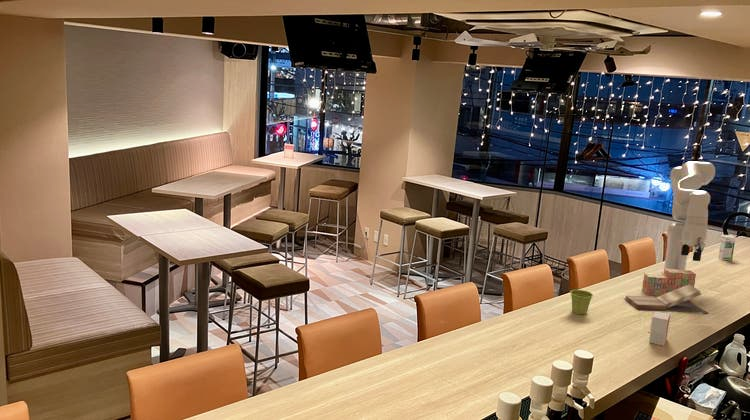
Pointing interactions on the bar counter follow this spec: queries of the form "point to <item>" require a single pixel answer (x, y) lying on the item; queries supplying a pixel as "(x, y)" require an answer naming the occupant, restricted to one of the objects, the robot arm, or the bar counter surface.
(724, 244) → the syrup box
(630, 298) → the laid board
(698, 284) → the bar counter surface
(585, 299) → the plant pot
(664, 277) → the stack of blocks
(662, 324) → the small box
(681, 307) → the underlay mat
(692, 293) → the plank
